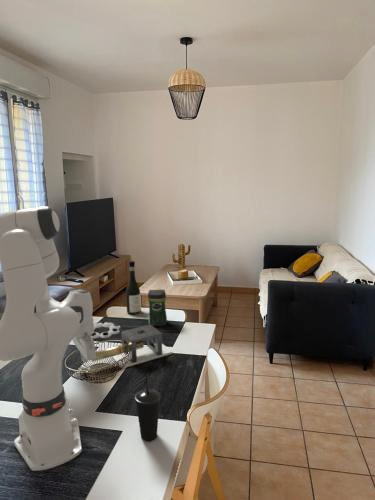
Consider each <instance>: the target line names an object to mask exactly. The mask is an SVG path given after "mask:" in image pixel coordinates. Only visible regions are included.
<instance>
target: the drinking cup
mask: <svg viewBox="0 0 375 500" xmlns="http://www.w3.org/2000/svg"><path fill="white" fill-rule="evenodd" d="M160 400H161V393H160V391H158V390H156V389H152V388H149V376H148V375H146V376H145V389H141V390H138V391H137V392H136V394H134V401H135V404H136V410H137V417H138V425H139V433H140V438H141V440H142V441H144V442H149V443H150V442H153V441H154V440H155V441H156V439H157V437H158V425H159V412H160V411H159V410H160Z"/></svg>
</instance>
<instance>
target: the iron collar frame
mask: <svg viewBox="0 0 375 500" xmlns="http://www.w3.org/2000/svg"><path fill="white" fill-rule="evenodd" d="M162 334H163V333H162V332H161V331H160V330H159V329H157V328H156V327H155V326H152V325H149V324H146V325H143V326H142V325H141V326H138V327H134V328H131V329H127V330H125V329H124V330H122V331H121V345H123V344H127V343H128V344H129V354H130V361H131V362H132V363H135V362H137V354H136V342H138V341H145V340H146V346H148V347H149V348H150V349H151V350H152V351H153V352H154V353H156V354H157V355H158V356H159V355H162V344H163V338H162V337H163V336H162ZM124 354H125V355H127V354H128V352H127V353H124Z"/></svg>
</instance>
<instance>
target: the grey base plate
mask: <svg viewBox="0 0 375 500" xmlns="http://www.w3.org/2000/svg"><path fill="white" fill-rule="evenodd" d="M136 354H137V362H135V363H132V362H131V361H130V360H129V362H128V363H127V364H126V365H125V367H124V368H123V369H125V368H128V367H132V366H135V365H139V364H142V363H146V362H149V361H152V360H157V359H159V358H162V357H165V356H169V355H173V351H172V350H171V349H170V348H169V347H167V346H166V345H165V344H164V343H162V355H159V356H158V355H157V354H156V353H154V352H153V351H152V350H151V349H150V348H149V347H148V346H147V345H146V346H144V347H143V348H142V349H138V350H136ZM121 358H122V355H116V356H112V357H111V359H112V360H113V362H115V361H117V360H119V359H121Z"/></svg>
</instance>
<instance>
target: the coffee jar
mask: <svg viewBox="0 0 375 500" xmlns="http://www.w3.org/2000/svg"><path fill="white" fill-rule="evenodd" d="M166 300H167V293H166V291H165V289H149V290H148V293H147V302H148V305H149V306H148V307H149V308H148V309H149V310H148V311H149V312H148V325H152V326H153V327H161V326H165V325H167V323H168V317H167V310H166Z"/></svg>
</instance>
